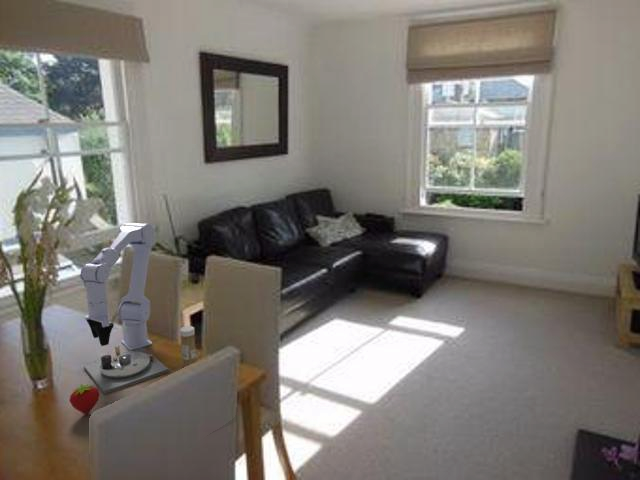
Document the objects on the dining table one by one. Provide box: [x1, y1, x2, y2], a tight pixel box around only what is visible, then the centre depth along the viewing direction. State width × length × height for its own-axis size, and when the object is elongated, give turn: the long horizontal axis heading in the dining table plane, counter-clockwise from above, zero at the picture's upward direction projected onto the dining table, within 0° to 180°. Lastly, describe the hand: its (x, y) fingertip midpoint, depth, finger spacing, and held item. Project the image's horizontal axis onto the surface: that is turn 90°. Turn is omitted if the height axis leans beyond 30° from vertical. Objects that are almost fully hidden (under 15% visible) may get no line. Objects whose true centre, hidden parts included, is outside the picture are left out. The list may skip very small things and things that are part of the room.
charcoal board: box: [83, 346, 169, 395], centre depth 160 cm, size 20×20×1 cm
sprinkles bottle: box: [179, 325, 197, 368], centre depth 161 cm, size 5×5×13 cm
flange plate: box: [100, 350, 154, 379], centre depth 160 cm, size 16×15×5 cm
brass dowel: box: [114, 345, 121, 354], centre depth 166 cm, size 1×1×4 cm
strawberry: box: [69, 383, 100, 415], centre depth 136 cm, size 6×8×10 cm
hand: (101, 340), depth 158 cm, fingers open, 7 cm apart
